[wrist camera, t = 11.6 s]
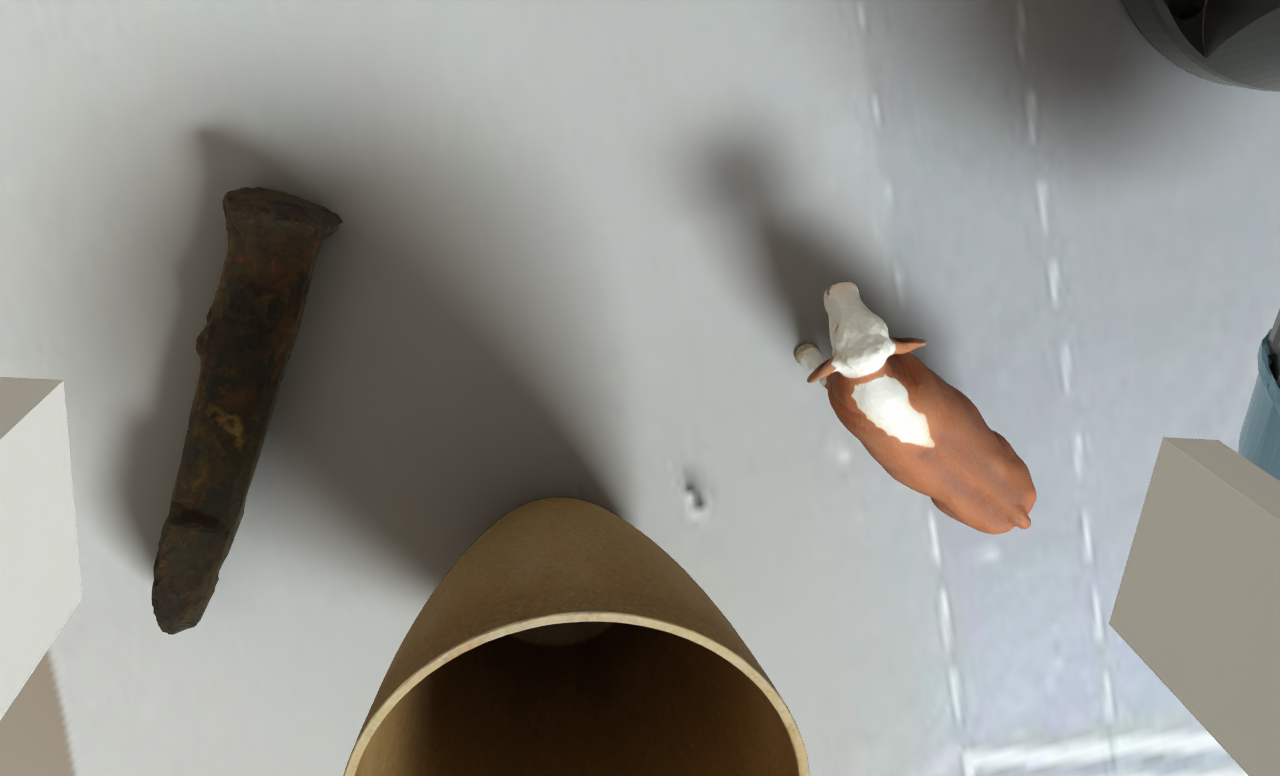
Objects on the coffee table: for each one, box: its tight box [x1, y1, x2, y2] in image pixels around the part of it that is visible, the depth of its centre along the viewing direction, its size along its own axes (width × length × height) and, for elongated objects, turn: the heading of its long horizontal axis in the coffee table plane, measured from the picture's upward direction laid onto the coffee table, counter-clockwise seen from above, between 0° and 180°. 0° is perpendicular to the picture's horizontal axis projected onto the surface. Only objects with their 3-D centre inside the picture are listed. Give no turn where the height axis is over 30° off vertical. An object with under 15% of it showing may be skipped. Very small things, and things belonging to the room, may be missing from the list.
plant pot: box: [344, 497, 810, 776], centre depth 42 cm, size 15×15×16 cm
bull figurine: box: [795, 282, 1036, 534], centre depth 44 cm, size 4×13×8 cm, turn 42°
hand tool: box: [152, 187, 343, 635], centre depth 43 cm, size 19×4×5 cm, turn 158°
